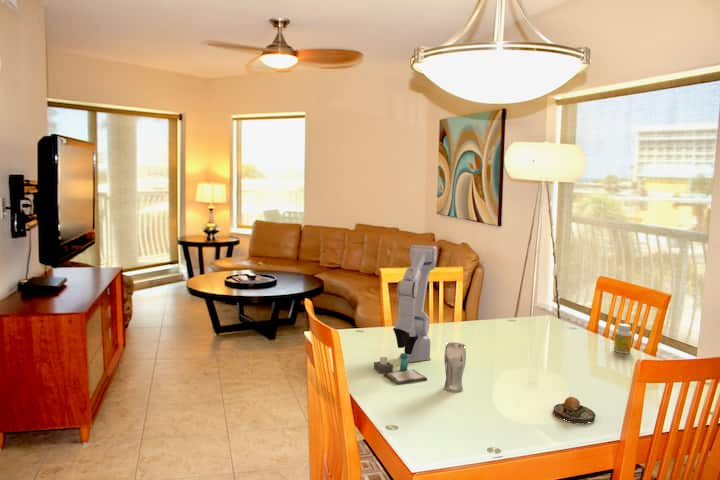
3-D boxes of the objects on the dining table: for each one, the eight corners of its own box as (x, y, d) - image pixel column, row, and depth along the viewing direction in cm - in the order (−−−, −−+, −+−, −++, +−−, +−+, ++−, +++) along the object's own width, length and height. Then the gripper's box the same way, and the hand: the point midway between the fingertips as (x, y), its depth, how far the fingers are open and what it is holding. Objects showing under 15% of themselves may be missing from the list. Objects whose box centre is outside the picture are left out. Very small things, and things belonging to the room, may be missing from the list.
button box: (386, 367, 212) (386, 360, 212) (392, 371, 208) (393, 364, 208) (373, 369, 210) (374, 362, 210) (380, 373, 206) (380, 366, 205)
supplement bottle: (614, 352, 241) (616, 325, 240) (613, 348, 247) (616, 322, 246) (630, 354, 239) (633, 327, 238) (629, 350, 245) (632, 324, 243)
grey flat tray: (413, 371, 209) (413, 368, 209) (426, 380, 201) (427, 376, 201) (383, 376, 203) (383, 372, 203) (396, 384, 195) (396, 380, 195)
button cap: (385, 365, 211) (385, 356, 210) (388, 367, 208) (389, 358, 208) (378, 365, 209) (378, 357, 209) (381, 368, 207) (382, 359, 207)
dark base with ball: (603, 423, 171) (605, 399, 170) (566, 426, 169) (568, 401, 168) (579, 407, 183) (581, 384, 182) (545, 409, 180) (547, 386, 179)
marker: (404, 368, 212) (405, 352, 211) (408, 371, 209) (409, 355, 209) (398, 369, 210) (399, 353, 210) (402, 372, 208) (403, 355, 207)
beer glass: (451, 394, 189) (453, 349, 187) (438, 386, 195) (440, 343, 193) (468, 391, 192) (470, 347, 190) (455, 384, 198) (457, 341, 196)
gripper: (389, 309, 213) (387, 345, 215) (402, 319, 199) (400, 357, 201) (407, 308, 215) (405, 344, 217) (422, 318, 201) (420, 356, 203)
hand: (404, 350), depth 209 cm, fingers open, 7 cm apart
